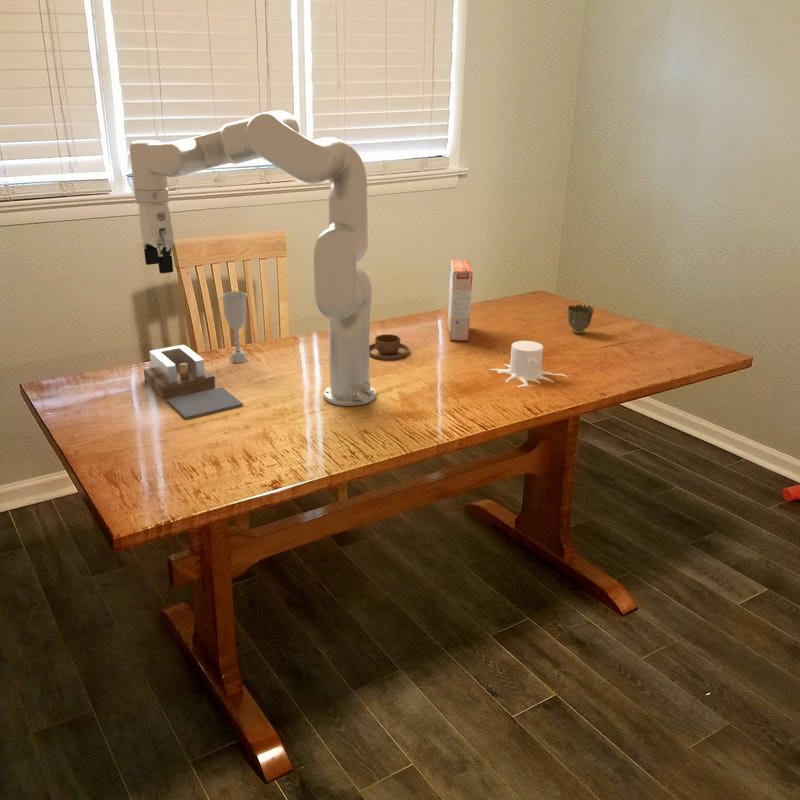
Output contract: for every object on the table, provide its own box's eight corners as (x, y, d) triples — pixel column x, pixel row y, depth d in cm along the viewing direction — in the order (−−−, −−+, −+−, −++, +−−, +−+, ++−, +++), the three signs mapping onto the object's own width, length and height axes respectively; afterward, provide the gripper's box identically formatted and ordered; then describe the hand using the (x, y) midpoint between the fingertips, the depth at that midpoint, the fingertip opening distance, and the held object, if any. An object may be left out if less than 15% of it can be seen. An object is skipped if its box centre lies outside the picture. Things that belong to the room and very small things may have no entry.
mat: (242, 405, 188) (242, 403, 187) (185, 419, 180) (185, 416, 180) (222, 389, 197) (222, 386, 196) (167, 401, 189) (166, 399, 189)
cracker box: (469, 341, 232) (473, 271, 223) (449, 341, 232) (452, 270, 223) (466, 326, 245) (470, 259, 236) (447, 326, 245) (449, 259, 236)
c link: (205, 376, 196) (203, 359, 194) (169, 384, 191) (167, 366, 190) (185, 360, 206) (184, 344, 204) (151, 367, 201) (149, 350, 199)
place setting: (391, 368, 213) (392, 347, 210) (327, 356, 221) (327, 335, 218) (420, 349, 227) (420, 329, 225) (358, 338, 235) (358, 318, 233)
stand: (215, 387, 198) (213, 362, 195) (164, 398, 191) (161, 373, 188) (194, 370, 208) (191, 346, 205) (144, 380, 201) (141, 356, 199)
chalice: (245, 365, 212) (241, 299, 205) (221, 363, 213) (216, 298, 206) (255, 356, 218) (251, 292, 211) (232, 354, 220) (227, 290, 212)
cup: (565, 328, 244) (567, 303, 241) (589, 329, 243) (592, 304, 240) (566, 336, 237) (568, 310, 234) (591, 337, 236) (594, 311, 233)
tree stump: (501, 391, 199) (503, 360, 196) (480, 364, 216) (481, 335, 213) (577, 386, 202) (580, 356, 199) (549, 360, 220) (552, 332, 216)
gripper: (180, 200, 181) (187, 274, 188) (155, 189, 194) (162, 259, 201) (148, 203, 177) (156, 278, 184) (124, 192, 190) (132, 262, 197)
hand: (159, 268), depth 193 cm, fingers open, 9 cm apart
